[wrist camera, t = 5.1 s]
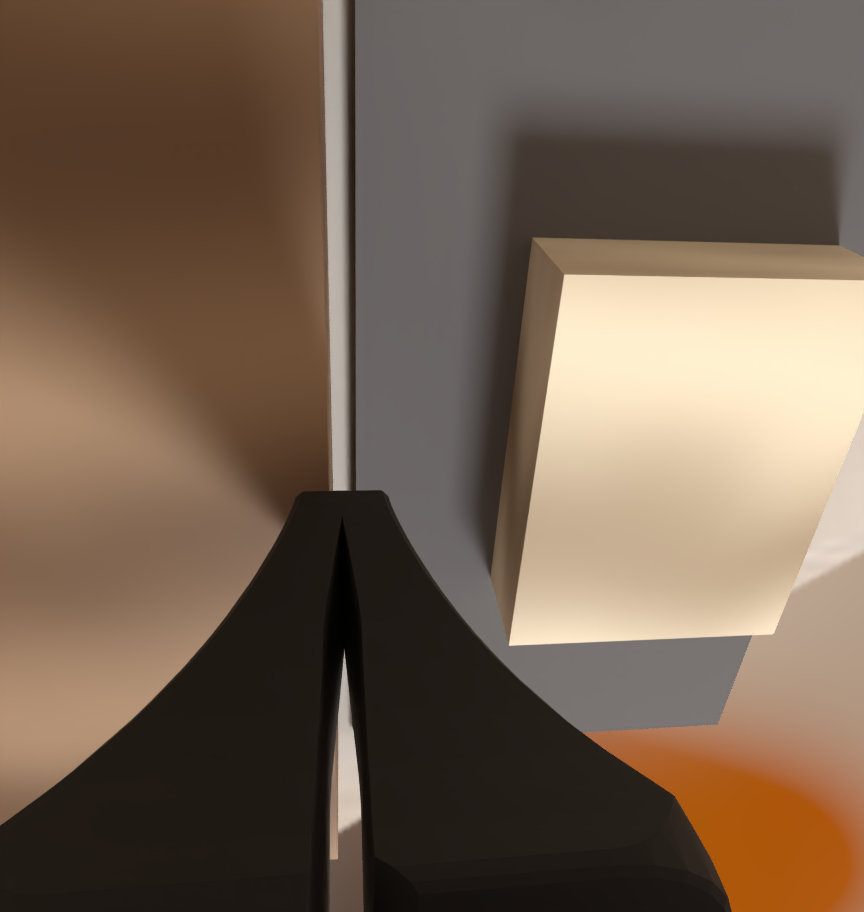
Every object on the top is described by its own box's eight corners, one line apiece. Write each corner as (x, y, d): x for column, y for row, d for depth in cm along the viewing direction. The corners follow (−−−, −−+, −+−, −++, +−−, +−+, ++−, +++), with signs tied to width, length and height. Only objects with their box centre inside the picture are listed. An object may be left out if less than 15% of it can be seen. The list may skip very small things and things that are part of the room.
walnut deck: (337, 734, 20) (337, 858, 17) (-47, 756, 19) (-119, 894, 16) (320, -53, 11) (313, -79, 8) (-436, -108, 10) (-781, -163, 7)
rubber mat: (711, 713, 21) (717, 724, 21) (356, 733, 20) (356, 745, 20) (981, -5, 12) (999, -5, 12) (354, -50, 11) (355, -52, 11)
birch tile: (508, 645, 15) (490, 577, 17) (773, 634, 16) (727, 569, 18) (564, 274, 11) (532, 237, 13) (916, 281, 12) (838, 245, 14)
